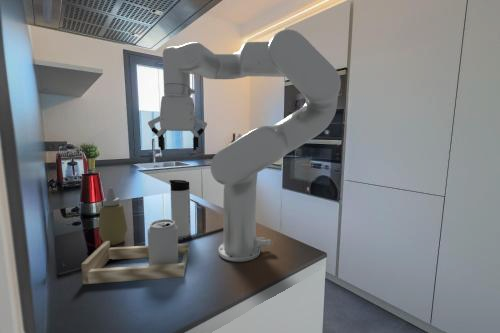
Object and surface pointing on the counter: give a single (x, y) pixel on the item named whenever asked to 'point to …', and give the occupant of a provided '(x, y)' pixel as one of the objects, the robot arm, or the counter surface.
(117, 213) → the squeeze bottle
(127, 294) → the counter surface
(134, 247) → the frame
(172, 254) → the can
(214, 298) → the counter surface
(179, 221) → the travel mug
